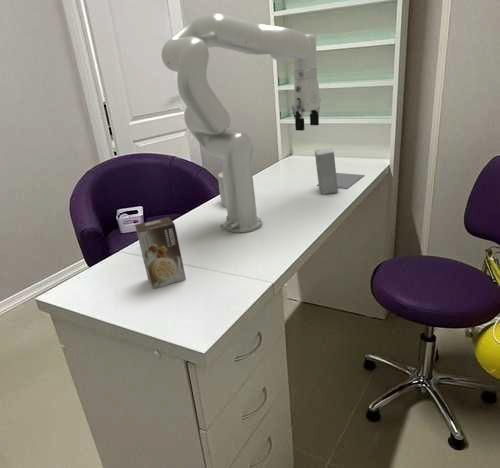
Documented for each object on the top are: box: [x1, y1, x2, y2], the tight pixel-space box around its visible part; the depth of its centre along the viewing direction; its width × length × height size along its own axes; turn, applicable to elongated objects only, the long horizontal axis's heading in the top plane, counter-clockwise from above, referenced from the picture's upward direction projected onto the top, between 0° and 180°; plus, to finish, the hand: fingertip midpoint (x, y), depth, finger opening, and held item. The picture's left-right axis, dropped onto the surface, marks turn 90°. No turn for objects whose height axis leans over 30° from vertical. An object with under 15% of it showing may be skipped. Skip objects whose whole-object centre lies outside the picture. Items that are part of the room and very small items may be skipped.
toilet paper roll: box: [217, 171, 227, 208], centre depth 161 cm, size 12×12×12 cm
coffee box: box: [134, 216, 187, 289], centre depth 109 cm, size 9×6×16 cm
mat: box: [316, 172, 365, 190], centre depth 175 cm, size 18×13×1 cm
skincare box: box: [314, 147, 339, 195], centre depth 162 cm, size 8×7×16 cm
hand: (307, 127), depth 147 cm, fingers open, 9 cm apart
